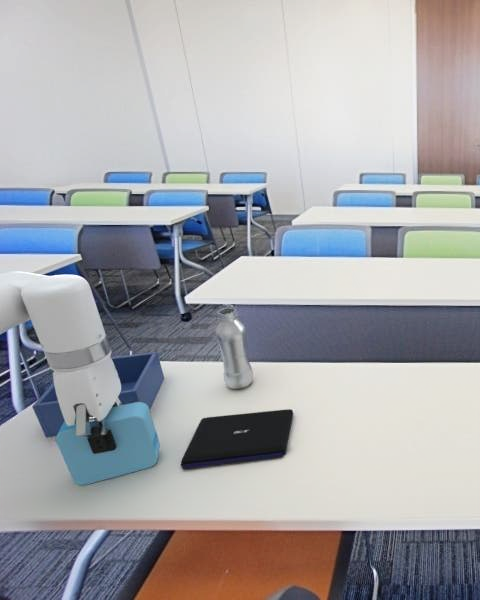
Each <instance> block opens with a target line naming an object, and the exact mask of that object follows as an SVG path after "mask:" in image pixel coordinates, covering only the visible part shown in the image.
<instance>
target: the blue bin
mask: <svg viewBox="0 0 480 600" xmlns="http://www.w3.org/2000/svg"><path fill="white" fill-rule="evenodd" d="M111 358H112V361H113V363H114V365H115V368H116V370H117V373H118V376H119V379H120V383H121V392H120V394H119V400H120V402H121V404H122V405H126V404H131V403H135V402H142V403H145V404H147V405H148V407H149V410H150V411H151V408H152V406H153V404H154V401H155V400H156V397H157V395H158V393H159V391H160V389H161V387H162V384H163V382H164V380H165V375H164V371H163V368H162V367H163V366H162V365H161V360H160V357H159V354H158V351H154V352H153V351H152V352H145V353H137V354H128V355H120V356H111ZM32 410H33V412H34V414H35V416H36V419H37V421H38V423H39V425H40V427H41V429H42V432H43V434H44V436H45V438H49V437H56V436H57V434H58V432H59V431H60V429H61V427H62V425H63V423H64V421H65V420H64V417H63V414H62V411H61V408H60V405H59V402H58V399H57V395H56V391H55V386H54V381H53V382H52V383H51V384H50V386H49V387H48V388H47V389H46V390H45V391H44V393H42V394H41V396H40V397H39V398H38V399H37V400H36V401H35V403H34V404H33V405H32Z"/></svg>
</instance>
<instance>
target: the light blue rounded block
mask: <svg viewBox="0 0 480 600" xmlns="http://www.w3.org/2000/svg"><path fill="white" fill-rule="evenodd" d="M90 417H93V416H91V415H89V418H90ZM105 419H106V424H107V429H108V430H111V432H112V435H113V437H114V440H115V443H116V446H117V447H116V449H115V450H113V451H108V452H103V453H98V454H94V453H93V452H92V450H91V447H90V445H89V442H88V440H87V438H85V437H84V436H80V437H77V436H76V424H75V425H73V426H68V425H67V424H66V422H65V421H64V423H63V425H62V427H61V429H60V431H59V432H58V434H57V435H56V436H55V442H56V445H57V447H58V450H59V451H60V453H61V454H60V455H61V456H62V458H63V460H64V463H65V465H66V467H67V470H68V472H69V474H70V477H71V478H72V481H73V482H74V484H77V485H79V486H81V485H82V486H85V485H86V486H87V485H90V484H93V483H97V482H101V481H102V482H103V481H104V480H109V479H113V478H116V477H121V476H123V475H127V474H131V473H134V472H139V471H143V470H146V469H149V468H152V467H153V466H155V465H156V464H157V462H158V459H159V458H158V457H159V453H160V448H161V442H160V439H159V436H158V433H157V430H156V427H155V423H154V419H153V416H152V414H151V409H150V410H149V407H148V405H147V404H145V403H142V402H135V403H131V404H126V405H121V406H116V407H112V408H111V410H110V411H109V413H108V414H107V416H106V417H105ZM90 427H99V422H93V423H90Z"/></svg>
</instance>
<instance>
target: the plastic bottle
mask: <svg viewBox="0 0 480 600" xmlns="http://www.w3.org/2000/svg"><path fill="white" fill-rule="evenodd" d="M237 318H238V315H237V311H236V309H235V308H234V307H225V308H221V309H219V310H217V319H218V321H219V322H218V324H217V325H216V328H215V331H214V336H215V339H216V341H217V344H218V347H219V349H220V353H221V357H222V365H223V380H224V383H225V385H226V386H227V387H229V388H230V389H234V390H240V389H243V388H246V387H247V386H249V385H251V383H252V382H253V380H254V370H253V367H252V365H251V364H250V360H249V356H248V353H247V352H248V350H247V344H246V343H247V342H246V341H247V339H246V338H247V337H246V335H247V334H246V332H247V331H246V327H245V325H244V324H243V323H242V322H241V321H240V320H239V319H237Z"/></svg>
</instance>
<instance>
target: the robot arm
mask: <svg viewBox="0 0 480 600" xmlns="http://www.w3.org/2000/svg"><path fill="white" fill-rule="evenodd" d="M29 321H30V322H31V324H32V327H33V329H34V331H35V334H36V336H37V339H38V341H39V344H40V346H41V348H42V351H43V353H44V356H45V358H46V361H47V364H48V366H49V368H50V370H51V371H53V372H52V379H53V382H54V386H55V391H56V395H57V399H58V402H59V405H60V408H61V411H62V414H63V417H64V420H65V422H66V424H67V425H68V426H73V425H75V424H76V436H77V437H80V436H84V437H85V438H87V440H88V442H89V445H90V447H91V450H92V452H93V453H94V454H98V453H103V452H108V451H113V450H115V449H116V447H117V446H116V443H115V440H114V437H113V435H112V432H111V430H108V429H107V424H106V419H105V417H106V416H107V414H108V413H109V411H110V410H111V408H112V407H116V406H121V405H122V404H121V402H120V400H119V394H120V392H121V383H120V379H119V376H118V373H117V370H116V368H115V365H114V363H113V361H112V358H111V357H112V356H111V355H112V349H111V346H110V343H109V340H108V337H107V334H106V331H105V327H104V325H103V321H102V319H101V315H100V313H99V310H98V306H97V303H96V300H95V297H94V294H93V291H92V288H91V286H90V283H89V282H88V281H87V280H86V279H85V278H84V277H82V276H80V275H76V274H55V275H45V274H40V273H32V272H26V271H6V272H2V273H0V335H2V334H4V333H6V332H8V331H9V330H12V329H14V328H15V327H17V326H19V325H21V324H24V323H27V322H29ZM89 415H91V416H93V417H90V418H89ZM93 422H99V427H90V423H93Z"/></svg>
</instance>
